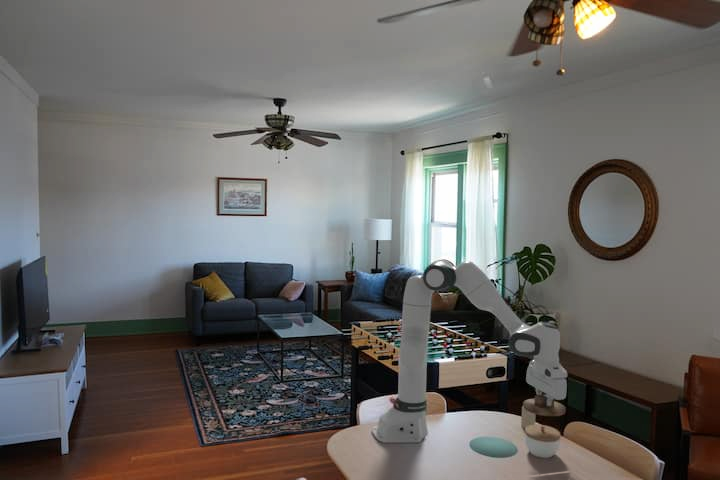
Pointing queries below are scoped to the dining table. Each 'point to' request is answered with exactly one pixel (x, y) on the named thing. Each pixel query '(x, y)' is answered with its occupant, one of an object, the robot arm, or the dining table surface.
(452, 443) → the dining table surface
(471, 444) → the mat
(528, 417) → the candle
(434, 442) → the dining table surface
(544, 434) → the lidded bowl
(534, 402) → the lid
